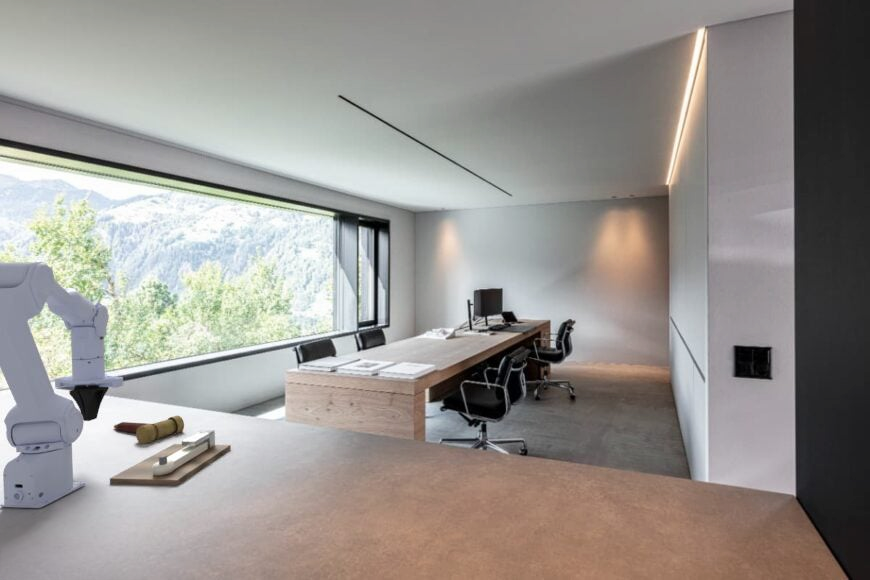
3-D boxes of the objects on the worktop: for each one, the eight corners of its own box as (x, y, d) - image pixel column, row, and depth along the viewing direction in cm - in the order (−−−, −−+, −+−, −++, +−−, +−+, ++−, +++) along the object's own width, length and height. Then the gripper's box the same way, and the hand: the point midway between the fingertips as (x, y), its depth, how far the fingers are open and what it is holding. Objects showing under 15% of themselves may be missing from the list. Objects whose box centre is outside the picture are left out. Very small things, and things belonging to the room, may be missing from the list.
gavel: (94, 423, 120) (132, 413, 130) (95, 440, 120) (133, 429, 129) (147, 426, 112) (184, 415, 121) (148, 445, 112) (185, 433, 121)
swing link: (165, 476, 90) (165, 460, 90) (148, 476, 90) (148, 459, 90) (209, 449, 104) (208, 435, 104) (194, 449, 105) (193, 435, 104)
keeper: (195, 457, 100) (194, 441, 100) (182, 457, 100) (181, 441, 100) (215, 445, 107) (214, 430, 107) (202, 445, 108) (202, 430, 107)
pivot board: (177, 485, 88) (177, 480, 88) (109, 483, 90) (109, 478, 90) (230, 449, 107) (230, 445, 107) (174, 448, 109) (174, 444, 109)
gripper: (132, 354, 104) (134, 414, 104) (74, 355, 105) (76, 413, 106) (107, 360, 97) (109, 424, 97) (45, 360, 98) (47, 423, 99)
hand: (90, 419), depth 101 cm, fingers closed
